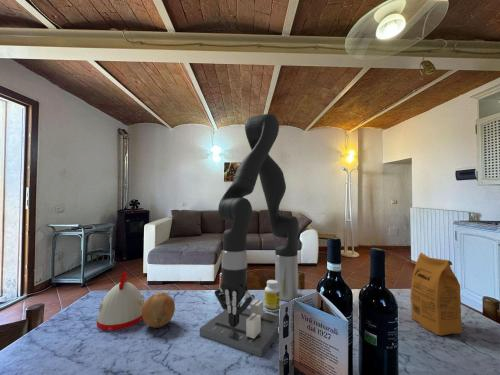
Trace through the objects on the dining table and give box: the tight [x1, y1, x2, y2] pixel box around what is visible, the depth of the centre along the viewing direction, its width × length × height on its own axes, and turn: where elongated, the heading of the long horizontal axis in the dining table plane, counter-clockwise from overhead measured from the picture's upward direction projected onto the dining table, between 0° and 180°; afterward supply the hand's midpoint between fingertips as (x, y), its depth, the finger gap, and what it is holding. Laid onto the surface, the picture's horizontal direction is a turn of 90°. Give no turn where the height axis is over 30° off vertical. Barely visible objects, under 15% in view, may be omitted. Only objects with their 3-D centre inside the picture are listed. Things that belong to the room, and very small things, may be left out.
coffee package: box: [410, 252, 463, 336], centre depth 74 cm, size 10×12×22 cm
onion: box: [142, 291, 176, 329], centre depth 73 cm, size 10×10×10 cm
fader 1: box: [250, 299, 264, 317], centre depth 74 cm, size 4×2×4 cm, turn 152°
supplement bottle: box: [264, 279, 280, 313], centre depth 85 cm, size 5×5×10 cm
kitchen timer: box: [96, 270, 145, 331], centre depth 77 cm, size 14×14×15 cm
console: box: [199, 305, 280, 358], centre depth 71 cm, size 18×20×2 cm
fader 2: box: [246, 313, 261, 338], centre depth 64 cm, size 4×2×4 cm, turn 152°
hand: (233, 325), depth 67 cm, fingers closed
